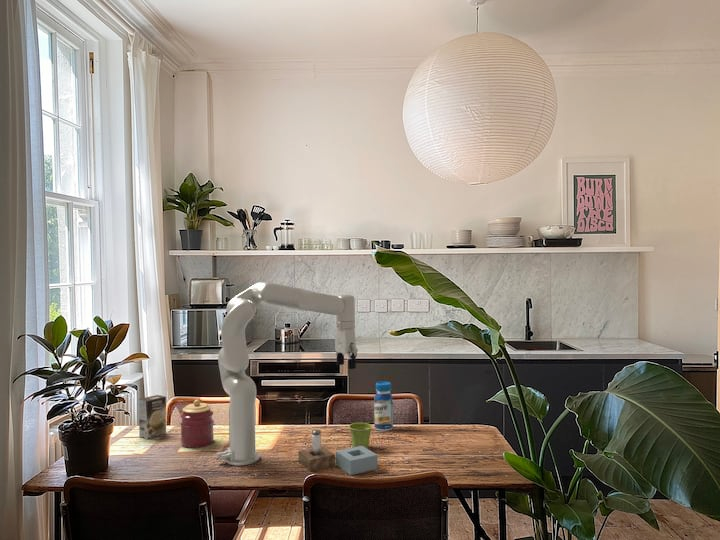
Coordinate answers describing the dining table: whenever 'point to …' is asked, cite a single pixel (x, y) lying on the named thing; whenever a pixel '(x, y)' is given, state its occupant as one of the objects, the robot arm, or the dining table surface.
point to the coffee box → (152, 416)
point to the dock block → (356, 460)
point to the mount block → (316, 459)
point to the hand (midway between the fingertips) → (346, 366)
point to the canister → (197, 425)
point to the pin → (316, 442)
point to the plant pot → (360, 434)
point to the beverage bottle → (383, 407)
